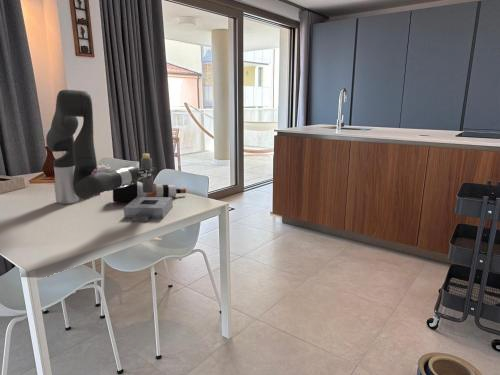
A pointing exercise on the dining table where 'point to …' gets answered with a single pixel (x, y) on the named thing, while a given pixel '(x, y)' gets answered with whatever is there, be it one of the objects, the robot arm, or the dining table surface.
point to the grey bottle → (147, 182)
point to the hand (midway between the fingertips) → (151, 169)
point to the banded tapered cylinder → (137, 191)
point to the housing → (148, 208)
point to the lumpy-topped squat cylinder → (103, 168)
